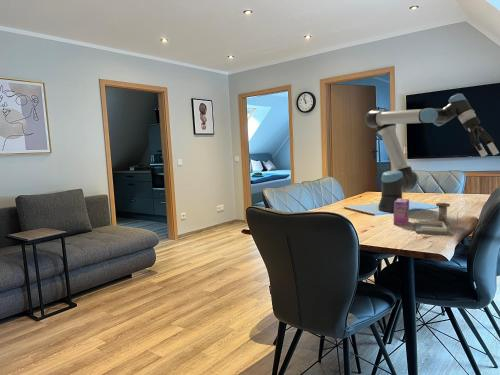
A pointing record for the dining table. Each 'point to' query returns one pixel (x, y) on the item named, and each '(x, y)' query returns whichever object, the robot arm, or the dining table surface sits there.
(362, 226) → the dining table surface
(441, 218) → the bobbin
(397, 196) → the robot arm
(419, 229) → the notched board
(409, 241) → the dining table surface
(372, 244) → the dining table surface
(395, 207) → the box
